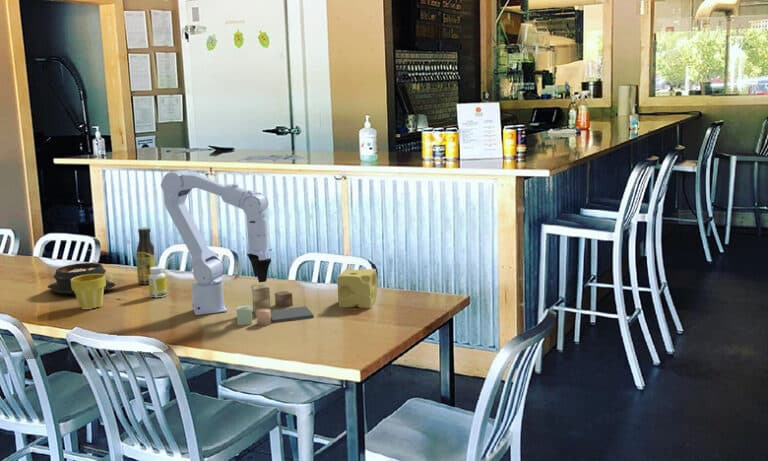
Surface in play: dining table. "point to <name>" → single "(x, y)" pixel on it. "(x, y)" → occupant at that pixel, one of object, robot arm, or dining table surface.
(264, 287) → the oak block
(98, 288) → the plant pot
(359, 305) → the cheese
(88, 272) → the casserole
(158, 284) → the supplement bottle
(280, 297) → the walnut block
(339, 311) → the dining table surface
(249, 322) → the sage block
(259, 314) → the brown block
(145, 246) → the sauce bottle
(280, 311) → the bar mat
